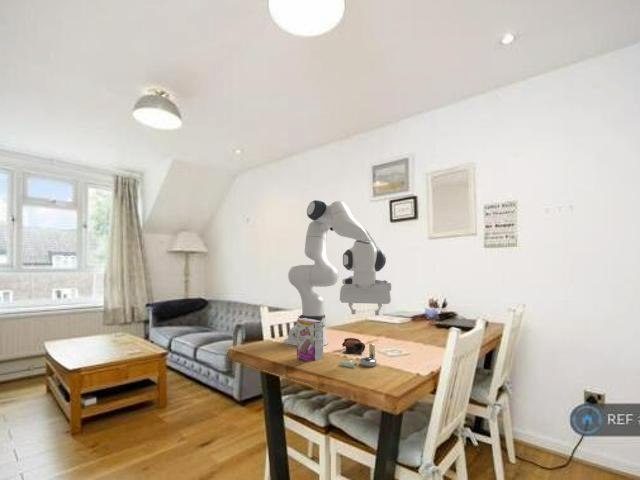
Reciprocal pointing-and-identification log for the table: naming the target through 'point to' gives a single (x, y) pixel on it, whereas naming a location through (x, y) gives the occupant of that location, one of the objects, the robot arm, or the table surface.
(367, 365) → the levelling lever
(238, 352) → the table surface
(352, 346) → the pottery mug
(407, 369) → the table surface
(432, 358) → the table surface
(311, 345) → the candy bar box
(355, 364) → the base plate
